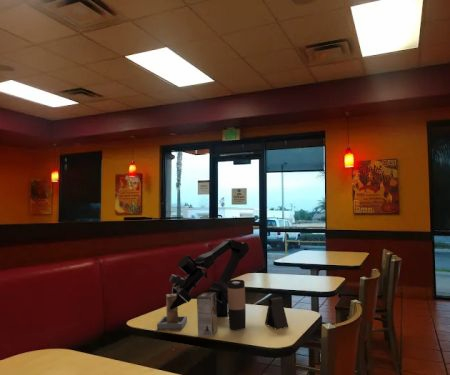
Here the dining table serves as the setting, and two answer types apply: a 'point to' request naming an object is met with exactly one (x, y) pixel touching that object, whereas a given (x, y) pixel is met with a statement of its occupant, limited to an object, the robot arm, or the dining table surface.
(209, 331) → the coffee box
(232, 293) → the travel mug
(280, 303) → the door stopper
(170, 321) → the tan cylinder
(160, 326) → the tray
